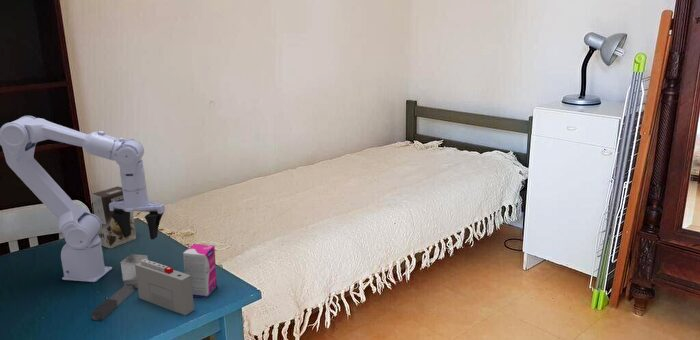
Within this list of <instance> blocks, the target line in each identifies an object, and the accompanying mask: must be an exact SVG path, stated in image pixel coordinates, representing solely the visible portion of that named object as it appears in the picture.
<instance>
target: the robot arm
mask: <svg viewBox="0 0 700 340" xmlns="http://www.w3.org/2000/svg"><path fill="white" fill-rule="evenodd" d="M46 140H50V141H55V142H59V143H63V144H64V143H65V144H68V145H72V146H76V147H82V148H83V149H84V151H85V152H86V153H87V154H88V155H91V156H95V157H99V158H103V159H106V160H109V161H113V162H116V164H117V165H118V166H119V176H120V183H121V187H122V191H123V198H124V201H119V202H114V201H113V202H112V203H110V204H109V208H110V211H114V213H113V214H111V216H112V218H113V219H114V220H115V221H116V222H117V224H118V225H119V227H120V229H121V231H122V233H123V235H124V238H127V237H128V236H130V235H131V227H130V212H132V211H133V212H141V213H142V212H143V213H147V214H145V216H144V219H145V221H146V224H147V226H148V233H149V237H150V240H155V239H157V238H158V233H159V227H160V223H161V220H162V217H163V216H164V215H163V214H164V213H165V211H166V209H165V204H164V203H158V202H153V201H149V199H148V192H147V191H148V189H147V181H146V176H145V168H144V162H143V159H142V158H143V156H144V154H145V149H144V148H145V147H144V146H143V145H142V143H141V142H139V141H138V140H136V139H135V138H128V139H126V140H125V137H122V136H120V137H116V136H112V135H108V134H106V131H104V130H103V131H102V130H99V131H92V132H90V133H84V132H81V131H78V130H76V129H73V128H70V127H67V126H63V125H61V124H57V123H54V122H52V121H49V120H46V119H45V118H40V117H36V116H33V115H23V116H20V117H18V119H16V120H13V121H11V122H6V123H4V124H3V125H2V126H1V127H0V146H1V148H2V152H3V154H4V155H3V156H4V158H5V162H6V164H7V166H8V167H9V168H10V169H11V170H12V172H14V173H15V175H16V176H17V177H18V178H19V179H20V180H21V181H22V182H23V184H25V186H26V187H27V188H29V190H30V191H32V193H33V194H34V195H35V196H36V197H37V198H38V199H39V201H40V202H41V203H42V204H43V205H44V206H45V207H46V208H47V209H48V210H49V212H51V213H52V215H53V216H54V217H56V219H57V222H58V230H59V231H60V232H61V233H62V234H63V237H64V240H65V242H66V243H65V244H64V245H63V246H62V248H61V252H60V259H61V267H62V271H63V277H62V278H61V279H62V280H64V281H75V282H77V281H78V282H87V283H88V282H89V283H95V282H97V281H99V280H100V279H101V278H102V277H104V276H105V275H106V274H107V273H108V272H110V271H111V270H113V266H105V261H104V252H103V248H102V245H101V239H100V237H99V235H98V233H99V231H100V230H101V227H102V223H101V220H100V219H99V218H98V217H97V216H96V215H94V213H91V212H90V211H88V210H87V208H86V207H83V206H79V205H77V204H76V203H75V202H74V201H73V199H71V197H70V196H69V195H68V194H67V193H66V192H65V191H64V190H63V189H62V188H61V186H60V185H59V184H58V183H57V182H56V181H55V180H54V179H53V178H52V176H51V175H50V174H49V173H48V172H47V171H46V169H45V168H43V167H42V165H40V163H39V162H38V161H37V160H36V159H35V157H34V155H35V149H36V145H37V144H38V143H39V142H43V141H46Z"/></svg>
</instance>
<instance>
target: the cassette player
mask: <svg viewBox="0 0 700 340" xmlns="http://www.w3.org/2000/svg"><path fill="white" fill-rule="evenodd" d="M135 269H136V277H137V284H138V290H137V292H138V298H139V299H140V300H144V301H146V302H148V303H151V304H154V305H157V306H159V307H162V308H164V309H167V310H169V311H173V312H176V313H177V314H181V315H182V316H188V314H190V313H192V312H193V311H195V305H194V296H193V293H192V283H191V275H188V274H185V272H182V271H178V270H175V269H174V268H173V267H170V266H168V265H165V264H161V263H159V262H155V261H151V260H149V259H148V260H146V259H143V260H141V262H140V263H138V264H136V265H135Z"/></svg>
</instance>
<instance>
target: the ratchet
mask: <svg viewBox="0 0 700 340" xmlns="http://www.w3.org/2000/svg"><path fill="white" fill-rule="evenodd" d="M135 291H138V284H137V282H136V281H123V286H122V287H120V289H118V290H117V291H116V292H114V294H113V295H112V296H110V297H109V298H106V299H104V301H103V302H101V303H100V304H99V305H98V306H96V307H95V308H94V309H93V310H92V311H91V312H90V314H91V315H90V316H91V320H92V321H101V322H102V321H104V320H105V319H106V318H108V317H109V315H110V314H112V313H113V312H114V311H115V310H116V309H117V308H118V306H119V305H121V304H122V303H123V302H124V301H125V300H126V299H127V298H128V297H129V296H130V295H131V294H133V293H134V292H135Z"/></svg>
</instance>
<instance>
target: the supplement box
mask: <svg viewBox="0 0 700 340" xmlns="http://www.w3.org/2000/svg"><path fill="white" fill-rule="evenodd" d="M182 256H183V258H182V259H183V268H184V272H183V273H185V274H188V275H191V283H192V293H193V297H198V298H205V299H207V298H208V297H209V296H210V295H211V293H212V292H213V291H215V289H217V287H218V285H217V282H218V281H217V268H216V267H217V265H216V248H215V246H214V245H210V244H209V245H208V244H197V243H193V244H192V245H191V246H190V247H189V248H187V249H186V250H185V251H183V253H182Z"/></svg>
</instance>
